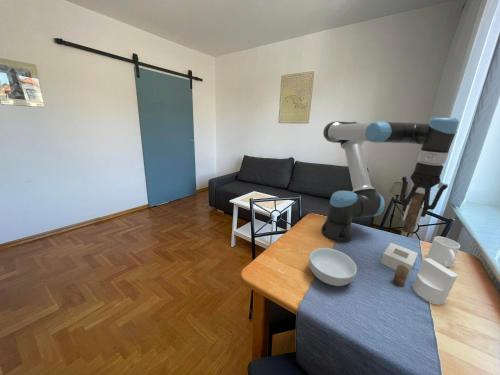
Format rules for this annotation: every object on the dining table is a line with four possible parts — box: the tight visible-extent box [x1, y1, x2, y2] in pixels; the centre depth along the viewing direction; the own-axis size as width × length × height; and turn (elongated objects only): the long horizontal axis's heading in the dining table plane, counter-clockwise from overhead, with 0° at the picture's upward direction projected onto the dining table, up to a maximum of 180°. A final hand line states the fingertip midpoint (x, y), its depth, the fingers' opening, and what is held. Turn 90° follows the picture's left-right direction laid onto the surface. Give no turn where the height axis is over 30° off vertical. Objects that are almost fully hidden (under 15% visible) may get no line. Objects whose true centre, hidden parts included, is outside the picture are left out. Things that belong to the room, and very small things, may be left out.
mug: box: [426, 235, 461, 268], centre depth 87 cm, size 12×8×10 cm
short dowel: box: [391, 265, 409, 288], centre depth 75 cm, size 4×4×7 cm
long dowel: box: [401, 191, 425, 234], centre depth 79 cm, size 4×4×16 cm
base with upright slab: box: [412, 257, 459, 305], centre depth 71 cm, size 9×9×12 cm
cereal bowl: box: [308, 247, 358, 287], centre depth 78 cm, size 17×17×7 cm
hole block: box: [380, 242, 419, 277], centre depth 87 cm, size 10×12×5 cm
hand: (410, 221), depth 80 cm, fingers closed on long dowel, 3 cm apart
